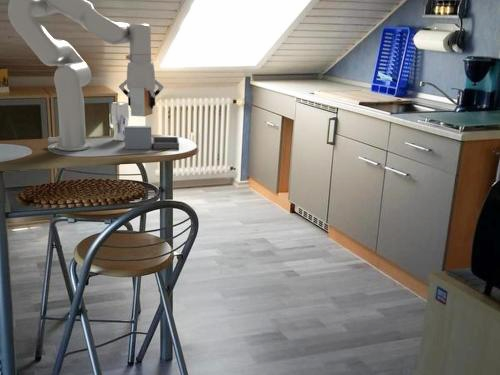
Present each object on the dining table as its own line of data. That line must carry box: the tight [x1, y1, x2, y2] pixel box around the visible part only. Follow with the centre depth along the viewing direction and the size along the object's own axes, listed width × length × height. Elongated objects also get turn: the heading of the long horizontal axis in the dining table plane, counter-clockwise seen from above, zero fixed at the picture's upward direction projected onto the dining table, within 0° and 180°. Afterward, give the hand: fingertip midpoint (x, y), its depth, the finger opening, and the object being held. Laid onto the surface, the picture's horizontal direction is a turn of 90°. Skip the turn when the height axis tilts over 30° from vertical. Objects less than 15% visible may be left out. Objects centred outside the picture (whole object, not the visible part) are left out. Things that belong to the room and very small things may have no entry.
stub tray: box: [152, 136, 180, 151], centre depth 237 cm, size 10×12×2 cm
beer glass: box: [110, 101, 130, 142], centre depth 245 cm, size 7×7×15 cm
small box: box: [129, 87, 154, 118], centre depth 222 cm, size 8×6×10 cm
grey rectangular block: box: [124, 125, 153, 150], centre depth 233 cm, size 10×5×8 cm, turn 99°
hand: (141, 107), depth 223 cm, fingers closed on small box, 7 cm apart
